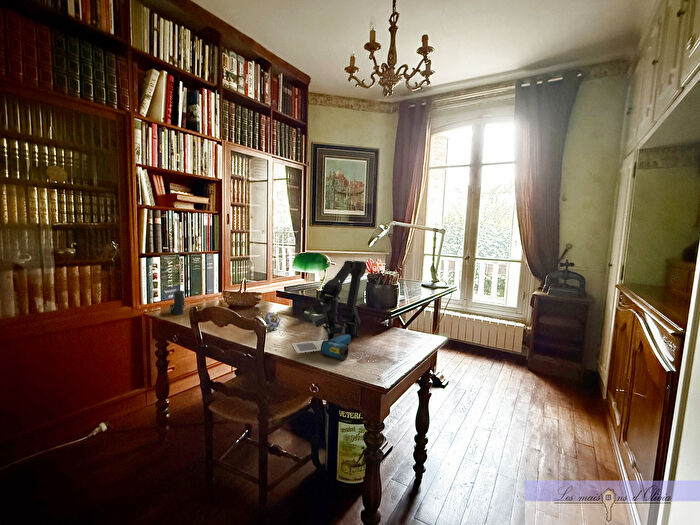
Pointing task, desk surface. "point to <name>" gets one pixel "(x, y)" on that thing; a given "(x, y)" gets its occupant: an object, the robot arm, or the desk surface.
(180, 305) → the scope
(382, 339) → the desk surface
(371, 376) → the desk surface
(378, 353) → the desk surface
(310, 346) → the label panel
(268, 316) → the passion flower
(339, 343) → the infrared thermometer
